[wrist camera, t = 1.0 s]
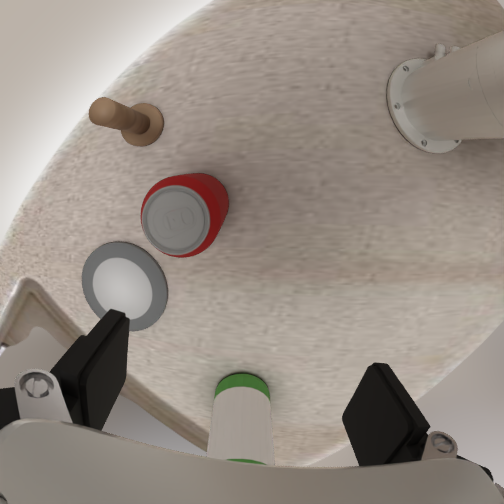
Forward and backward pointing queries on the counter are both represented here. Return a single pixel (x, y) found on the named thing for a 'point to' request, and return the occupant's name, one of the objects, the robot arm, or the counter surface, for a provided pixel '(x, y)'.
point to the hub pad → (125, 283)
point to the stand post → (128, 120)
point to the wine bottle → (241, 421)
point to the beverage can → (184, 213)
